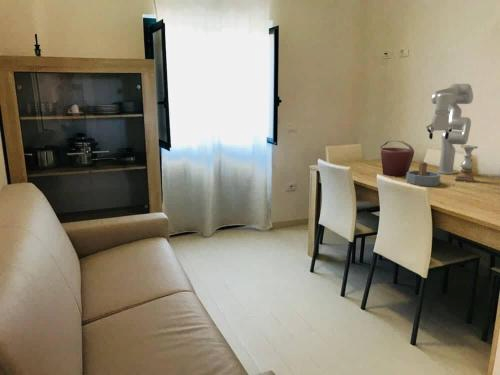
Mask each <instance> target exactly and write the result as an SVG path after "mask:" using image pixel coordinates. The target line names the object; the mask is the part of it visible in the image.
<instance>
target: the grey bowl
mask: <svg viewBox="0 0 500 375" xmlns="http://www.w3.org/2000/svg"><path fill="white" fill-rule="evenodd" d="M418 172H419V170H416V169H415V170H409V171H408V172H407V174H406V176H405V177H406V178H405V181H406V183H407V184H409V183H410V185H412V184H413V185H412V186H417V185H418V186H420V187H438V186H439V185H440V181H441V173H437V172H434V171H430V170H429V171H428V170H426V176H419V175H418Z"/></svg>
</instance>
